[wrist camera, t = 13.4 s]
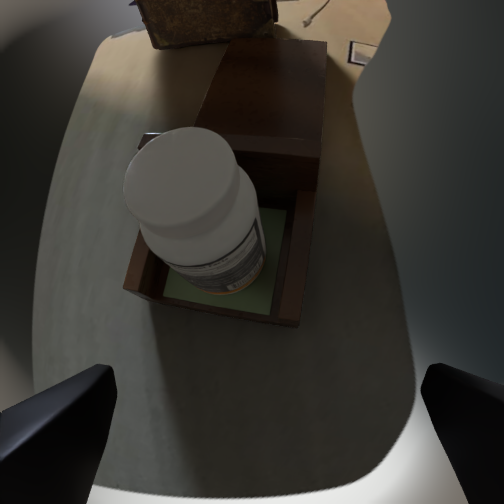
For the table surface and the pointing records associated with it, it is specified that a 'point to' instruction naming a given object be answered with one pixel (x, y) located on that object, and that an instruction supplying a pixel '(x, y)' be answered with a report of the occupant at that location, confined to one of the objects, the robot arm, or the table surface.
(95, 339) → the table surface
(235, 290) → the pill bottle
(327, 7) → the table surface
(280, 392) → the table surface
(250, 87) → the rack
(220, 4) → the book
